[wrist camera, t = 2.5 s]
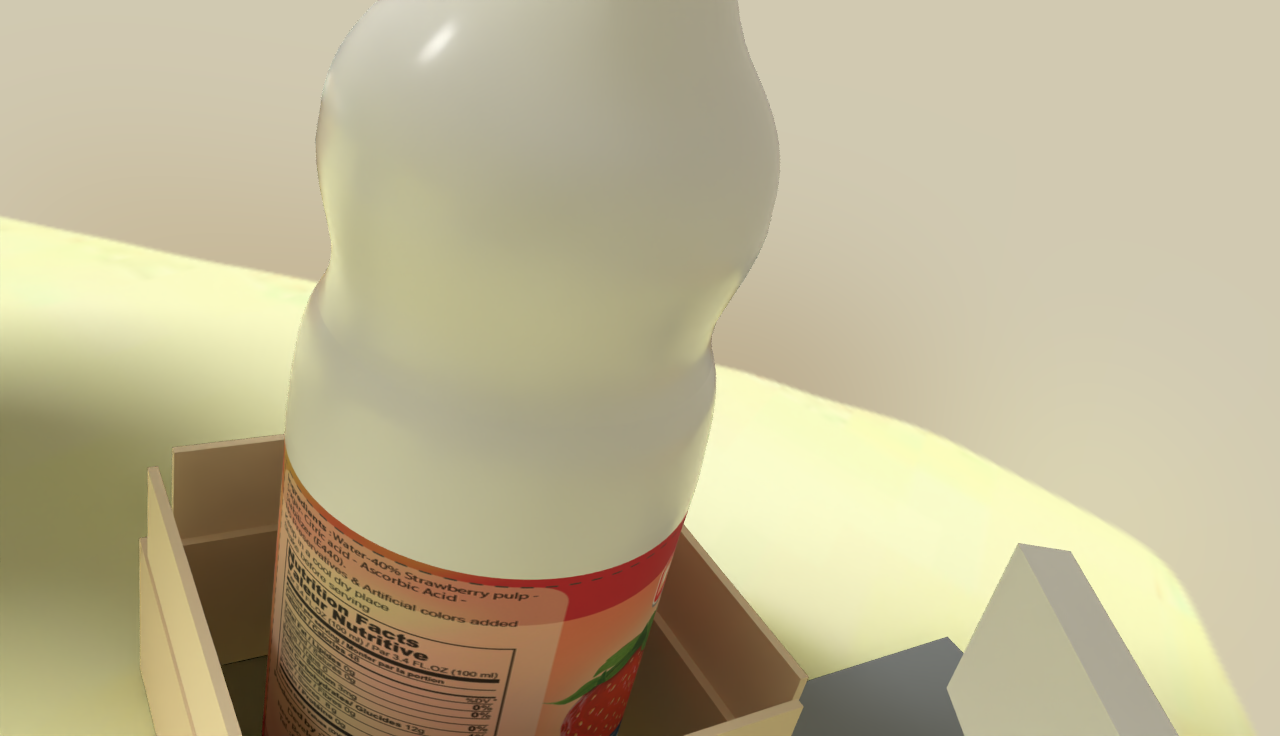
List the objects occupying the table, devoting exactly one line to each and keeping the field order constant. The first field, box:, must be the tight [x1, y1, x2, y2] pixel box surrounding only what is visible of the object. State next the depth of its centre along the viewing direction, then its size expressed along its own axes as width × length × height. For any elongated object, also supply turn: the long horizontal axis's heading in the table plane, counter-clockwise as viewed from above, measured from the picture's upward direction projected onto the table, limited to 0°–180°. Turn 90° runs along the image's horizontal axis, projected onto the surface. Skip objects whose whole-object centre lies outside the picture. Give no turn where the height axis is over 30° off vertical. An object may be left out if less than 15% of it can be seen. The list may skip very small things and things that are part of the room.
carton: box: [139, 434, 809, 736], centre depth 29 cm, size 13×13×8 cm
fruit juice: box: [262, 0, 780, 736], centre depth 24 cm, size 9×9×28 cm
